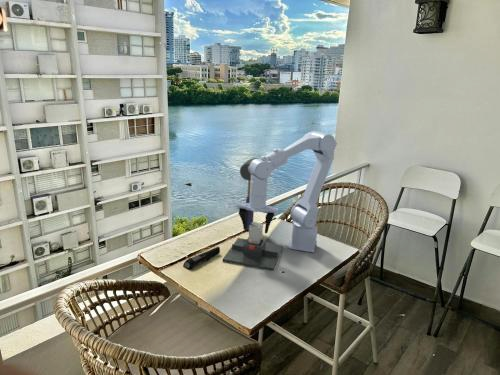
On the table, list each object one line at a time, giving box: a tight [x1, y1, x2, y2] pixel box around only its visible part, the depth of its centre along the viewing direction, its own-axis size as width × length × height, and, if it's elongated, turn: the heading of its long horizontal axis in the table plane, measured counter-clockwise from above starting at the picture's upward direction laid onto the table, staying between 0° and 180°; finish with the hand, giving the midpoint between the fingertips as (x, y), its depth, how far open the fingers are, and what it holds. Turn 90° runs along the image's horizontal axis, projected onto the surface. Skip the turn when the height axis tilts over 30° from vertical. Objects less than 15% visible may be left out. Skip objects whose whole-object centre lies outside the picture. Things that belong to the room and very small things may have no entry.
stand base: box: [222, 236, 284, 272], centre depth 130 cm, size 18×18×5 cm
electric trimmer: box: [182, 246, 221, 271], centre depth 124 cm, size 4×16×3 cm, turn 141°
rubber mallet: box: [239, 157, 260, 231], centre depth 147 cm, size 12×8×30 cm, turn 164°
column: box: [248, 221, 264, 246], centre depth 128 cm, size 4×4×8 cm
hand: (255, 230), depth 127 cm, fingers open, 7 cm apart
